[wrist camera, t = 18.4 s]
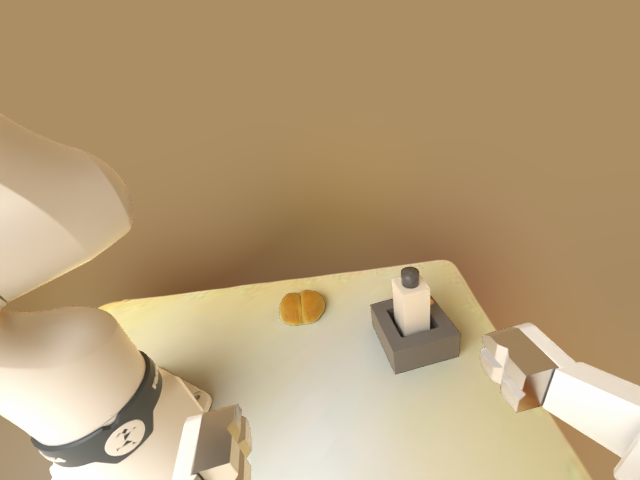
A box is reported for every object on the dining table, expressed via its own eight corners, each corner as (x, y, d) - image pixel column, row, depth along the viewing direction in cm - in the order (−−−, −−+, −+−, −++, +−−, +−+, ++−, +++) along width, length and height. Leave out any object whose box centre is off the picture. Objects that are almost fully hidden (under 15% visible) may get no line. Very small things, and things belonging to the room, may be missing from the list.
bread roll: (327, 322, 55) (324, 306, 53) (280, 331, 56) (275, 316, 54) (323, 293, 63) (320, 278, 61) (282, 301, 63) (277, 287, 61)
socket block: (395, 374, 44) (393, 350, 41) (372, 325, 53) (370, 303, 50) (458, 356, 45) (460, 332, 42) (426, 311, 53) (426, 288, 51)
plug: (405, 348, 46) (402, 284, 40) (395, 329, 50) (390, 267, 43) (429, 341, 47) (430, 276, 40) (417, 323, 50) (416, 260, 43)
